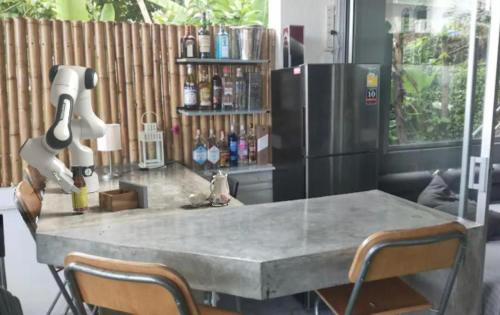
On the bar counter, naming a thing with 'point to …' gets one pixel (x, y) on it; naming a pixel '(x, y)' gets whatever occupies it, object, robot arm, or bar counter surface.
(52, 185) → the bar counter surface
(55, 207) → the bar counter surface
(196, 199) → the chinaware
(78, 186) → the sauce bottle
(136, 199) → the wooden box
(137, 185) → the backstop wall
